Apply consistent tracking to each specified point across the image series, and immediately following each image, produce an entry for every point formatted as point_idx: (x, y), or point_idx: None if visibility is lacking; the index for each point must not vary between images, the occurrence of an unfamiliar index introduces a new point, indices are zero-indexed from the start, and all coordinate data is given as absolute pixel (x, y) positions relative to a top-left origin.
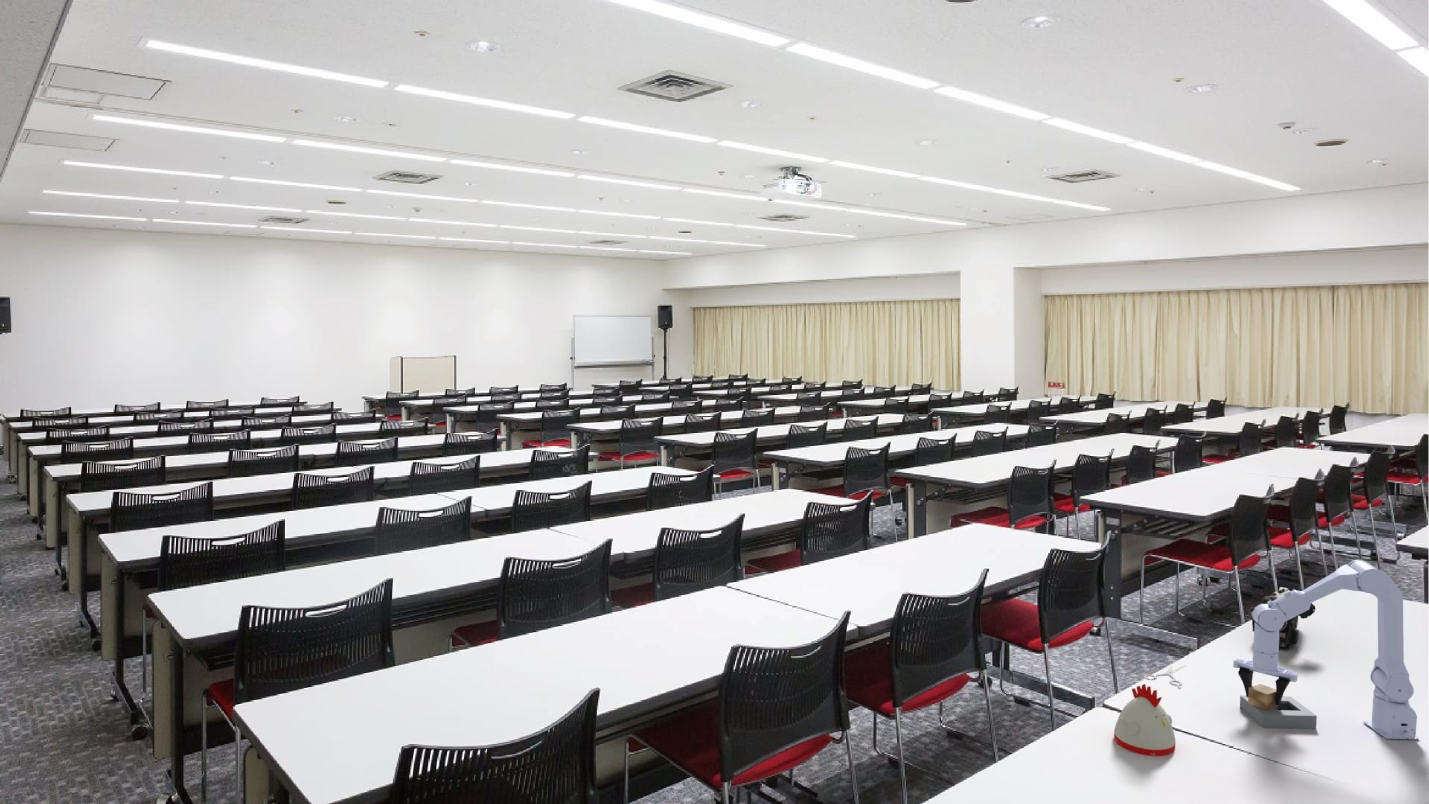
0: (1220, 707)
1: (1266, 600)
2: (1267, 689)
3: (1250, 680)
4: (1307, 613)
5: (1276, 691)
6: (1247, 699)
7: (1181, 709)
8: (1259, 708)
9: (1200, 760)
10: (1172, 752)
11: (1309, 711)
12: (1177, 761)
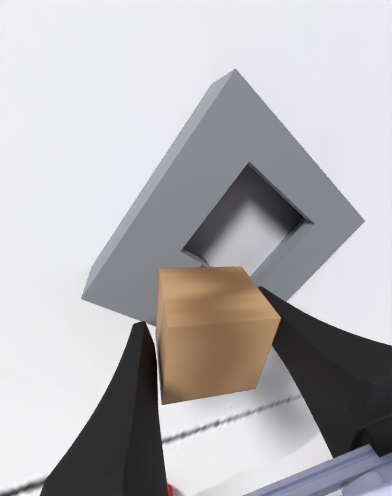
0: (59, 319)
1: None
2: (234, 354)
3: (147, 415)
4: None
5: (294, 378)
6: (128, 306)
7: (23, 412)
8: None
9: (209, 470)
10: (170, 487)
11: (341, 203)
12: (191, 489)
